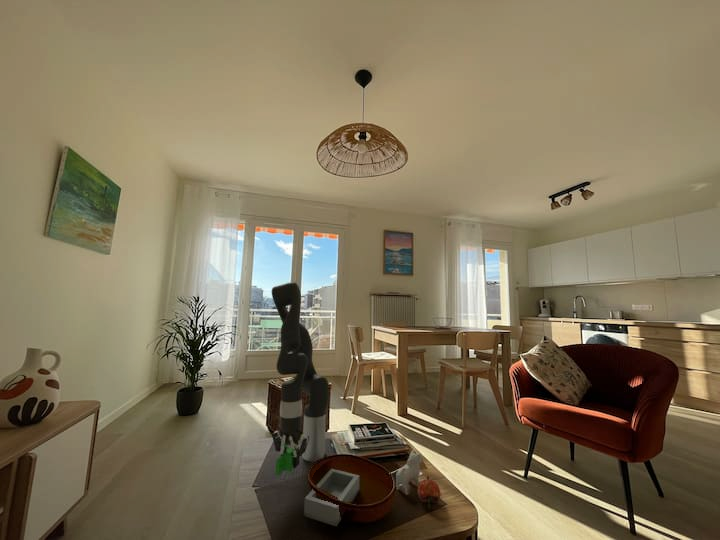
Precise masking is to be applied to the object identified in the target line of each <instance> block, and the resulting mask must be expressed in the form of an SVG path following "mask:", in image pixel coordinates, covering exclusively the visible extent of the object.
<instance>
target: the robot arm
mask: <svg viewBox="0 0 720 540" xmlns="http://www.w3.org/2000/svg"><path fill="white" fill-rule="evenodd" d="M301 295H302V294H301V289H300V287H299V285H298V284H297V282H295V281H289V282H286V283H283V284H280V285H275V286H273V287H272V288H271V297H272V300H273V303H274V305H275V308H276V310H277V313H278V315H279V317H280V320H281V322H282V325H281V328H280V350H279V354H278V357H277V361H276V372H277V373H279V375H282V376H289V375H290V376H291V375H295V376H294V377H293V378H291V379H288V380H286V381H284V382H282V383H281V389H280V390H281V391H280V392H281V393H280V405H279V406H280V407H279V430H275V431H274V432H273V433H272V434H271V436H272V441H273V444H274V449H275V452H279V454H280V456H282V455H283V454H284V453H285V452H286V451H287V450H288V447H289V446H290V448H291V449H292V450H293V455H294V457H293V465H292V469H296V468H297V467H298V466H299V465H300V457H302V459H303V460H304V461H307V462H318V461H317V460H319V459H321V458H322V459H324V457H325V453H326V452H325V451H326V412H327V411H326V410H327V408H328V404H329V394H330V391H329V389H330V385H329V381H328V379H327V378H326V377H324V376H322V375H320V374H318V373H317V372H316V369H315V366H314V363H313V353H314V352H313V350H314V349H313V342H312V339H311V336H310V332H309V330H308V328H307V327H305V325H303V324H302V323H301V322H300V319H301V318H300V317H301V304H302V296H301ZM288 306H290V309H288V308H287V307H288ZM303 393H304V394H306V396H309V399H308V400H309V402H308V404H307V405H305V406H304V408H303ZM302 427H303V430H302ZM300 440H301V441H300ZM295 444H296V445H295ZM322 459H321V460H322ZM319 461H320V460H319Z"/></svg>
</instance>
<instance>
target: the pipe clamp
mask: <svg viewBox="0 0 720 540" xmlns="http://www.w3.org/2000/svg"><path fill="white" fill-rule="evenodd" d="M295 445H296V444H295ZM293 457H294V455H293V450H292V449H291V447H289V449H287V451H286V452H285V453H284V454H283V455H282V456H281V455H280V456H279V457H278V458H277V459H276V460H275V476H280V475H281V474H282V473H283V472H284V471H285V472H289V473H291V472H292V471H293Z"/></svg>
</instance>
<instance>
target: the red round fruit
mask: <svg viewBox="0 0 720 540" xmlns="http://www.w3.org/2000/svg"><path fill="white" fill-rule="evenodd" d="M417 495H418V497H419V499H420V501H421V502H422V503H428V508H430V506H431V505H430V503H431V504H437V503H438V501H439V500H440V499H441V489H440V487H439V485H438V483H437V482H436V481H434V480H433V479H430V477H429V475H427V476H426V479H423V480H422V481H420V482H419V485H418V487H417Z"/></svg>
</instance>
